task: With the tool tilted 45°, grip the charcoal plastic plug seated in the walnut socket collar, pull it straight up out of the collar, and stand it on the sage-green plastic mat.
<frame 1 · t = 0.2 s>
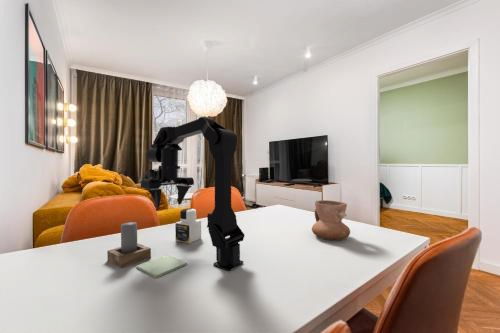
hand: (168, 206, 84), 14 cm above the table, tool pointing down, fingers open, 9 cm apart
green mat: (162, 266, 67), on the table
medicine bottle: (188, 240, 91), on the table
plug: (129, 259, 73), resting in walnut collar
walnut collar: (129, 258, 73), on the table
ceramic jug: (329, 237, 93), on the table
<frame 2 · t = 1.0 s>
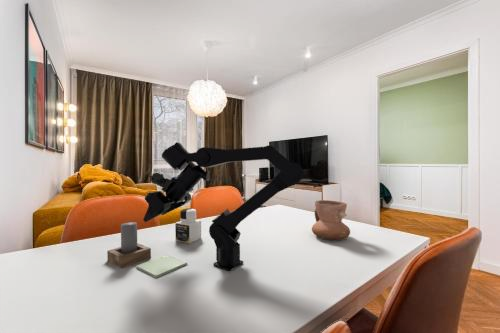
hand: (153, 217, 72), 13 cm above the table, tool tilted 45°, fingers open, 9 cm apart
nothing on the table moved.
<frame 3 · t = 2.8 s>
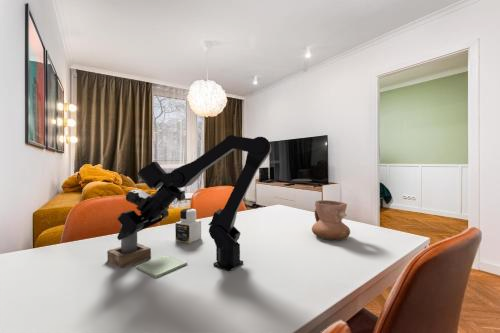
hand: (128, 234, 73), 8 cm above the table, tool tilted 45°, fingers open, 9 cm apart
nothing on the table moved.
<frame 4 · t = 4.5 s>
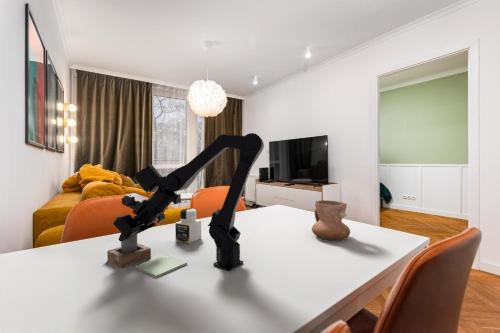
hand: (125, 237, 73), 7 cm above the table, tool tilted 45°, fingers closed on plug, 4 cm apart
plug: (129, 259, 73), resting in walnut collar, touching gripper
everything else where it was.
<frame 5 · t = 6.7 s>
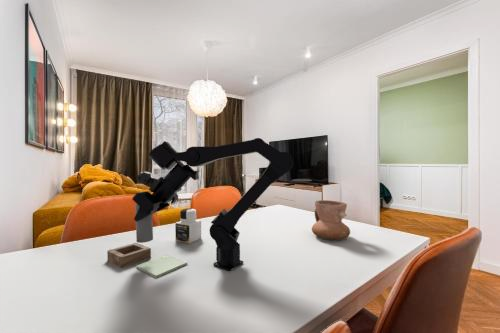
hand: (139, 218, 70), 13 cm above the table, tool tilted 45°, fingers closed on plug, 4 cm apart
plug: (144, 240, 70), point 7 cm above the table, touching gripper
everything else where it was.
when the fingers open (9 cm above the table, at t = 9.0 s): plug drops 1 cm, resting on green mat.
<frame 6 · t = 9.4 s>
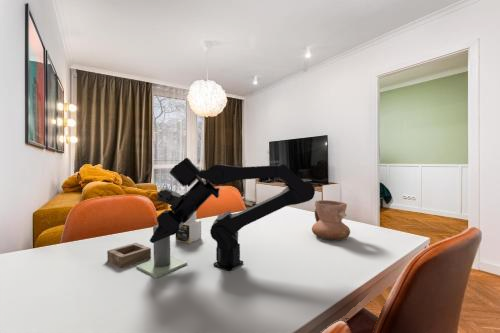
hand: (157, 236, 67), 9 cm above the table, tool tilted 45°, fingers open, 9 cm apart
plug: (162, 263, 67), point 1 cm above the table, touching green mat
everything else where it was.
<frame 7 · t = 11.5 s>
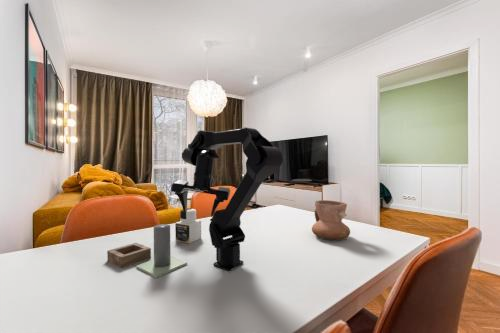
hand: (198, 214, 79), 13 cm above the table, tool pointing down, fingers open, 9 cm apart
nothing on the table moved.
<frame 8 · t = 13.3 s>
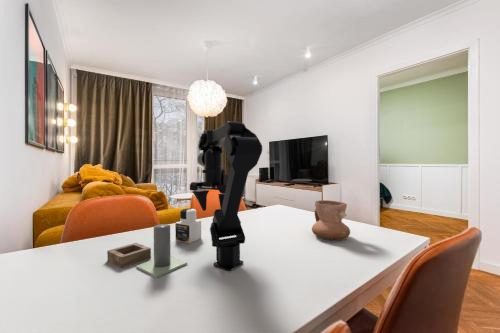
hand: (213, 212, 80), 13 cm above the table, tool pointing down, fingers open, 9 cm apart
nothing on the table moved.
at the end: plug inside the target area on the green mat (0.0 cm from its centre), point 0.6 cm above the green mat's base; plug tilted 0°; the gripper is holding nothing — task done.
